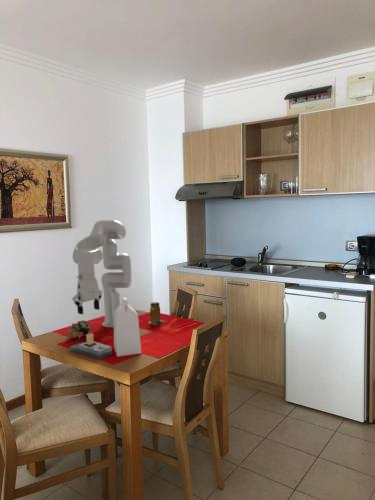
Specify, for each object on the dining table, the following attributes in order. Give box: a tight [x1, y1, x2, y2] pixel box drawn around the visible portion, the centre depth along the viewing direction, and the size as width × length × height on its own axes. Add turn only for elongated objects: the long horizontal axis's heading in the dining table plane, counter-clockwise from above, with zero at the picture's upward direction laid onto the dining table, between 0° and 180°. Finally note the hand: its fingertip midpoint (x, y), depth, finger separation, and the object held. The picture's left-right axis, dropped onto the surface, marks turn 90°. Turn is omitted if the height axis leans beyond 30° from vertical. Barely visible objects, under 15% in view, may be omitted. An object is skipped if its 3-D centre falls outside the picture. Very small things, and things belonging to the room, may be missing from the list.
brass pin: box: [85, 332, 95, 347], centre depth 202 cm, size 3×3×9 cm
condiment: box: [148, 301, 166, 326], centre depth 249 cm, size 7×8×12 cm
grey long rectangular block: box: [69, 341, 113, 360], centre depth 202 cm, size 22×8×5 cm, turn 52°
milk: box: [113, 296, 142, 357], centre depth 202 cm, size 12×12×26 cm
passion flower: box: [67, 320, 95, 341], centre depth 224 cm, size 11×11×12 cm
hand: (88, 311), depth 200 cm, fingers open, 9 cm apart
